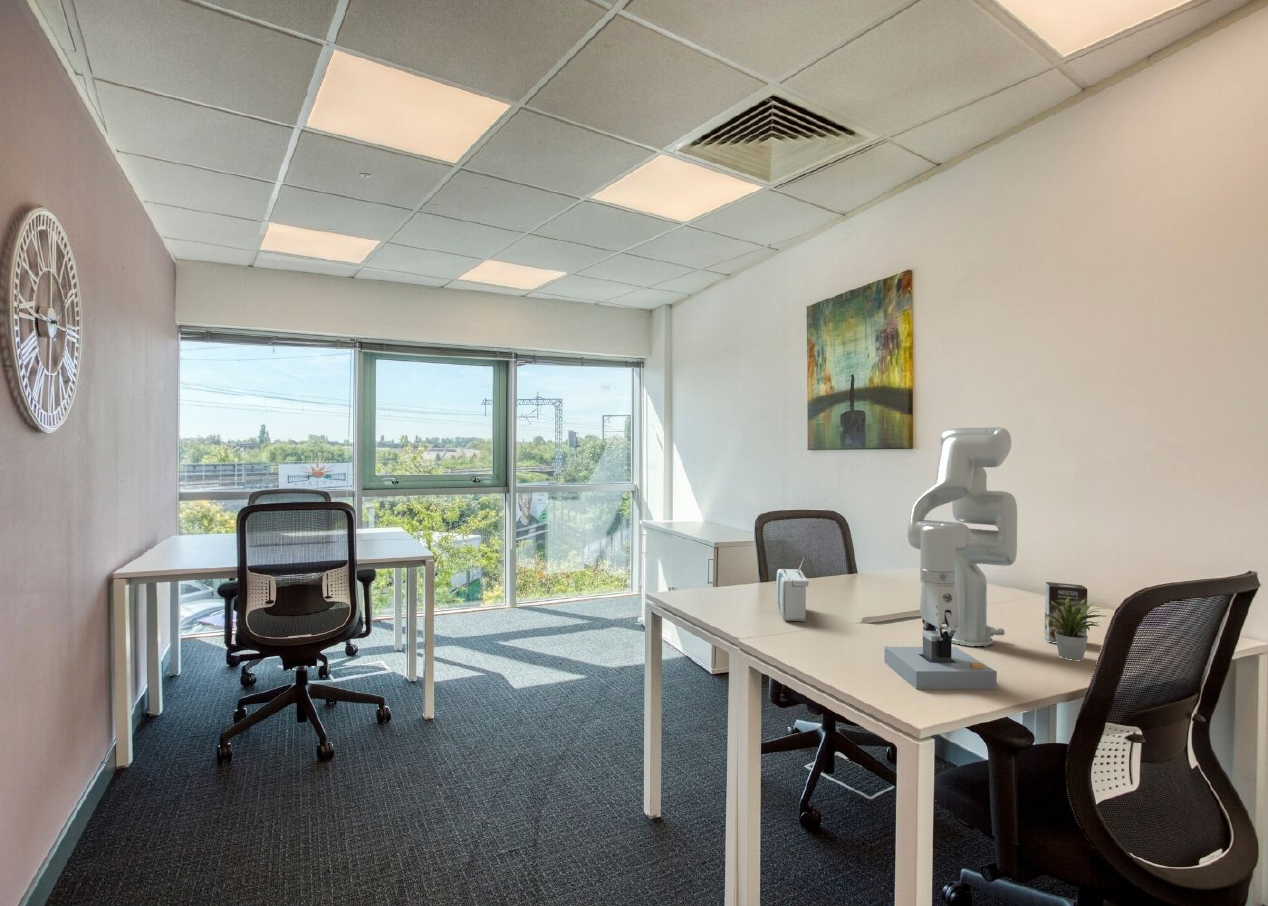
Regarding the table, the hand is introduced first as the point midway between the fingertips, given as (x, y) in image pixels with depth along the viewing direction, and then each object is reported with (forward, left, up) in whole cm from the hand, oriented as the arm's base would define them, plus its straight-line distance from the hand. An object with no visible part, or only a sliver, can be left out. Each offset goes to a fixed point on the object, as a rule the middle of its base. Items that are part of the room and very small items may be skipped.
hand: (937, 652), depth 151 cm
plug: (0, 0, -6) cm, 6 cm away
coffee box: (-49, -27, -6) cm, 56 cm away
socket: (0, 0, -6) cm, 6 cm away
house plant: (-40, -12, -6) cm, 42 cm away
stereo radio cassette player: (+20, -57, -6) cm, 61 cm away
